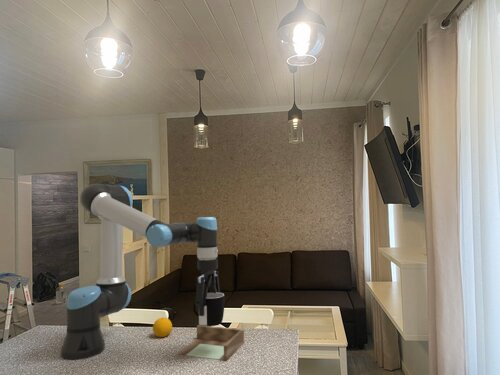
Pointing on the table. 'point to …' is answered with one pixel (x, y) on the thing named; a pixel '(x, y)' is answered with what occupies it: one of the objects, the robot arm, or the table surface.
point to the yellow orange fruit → (162, 327)
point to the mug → (214, 308)
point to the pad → (207, 351)
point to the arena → (217, 340)
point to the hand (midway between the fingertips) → (208, 320)
